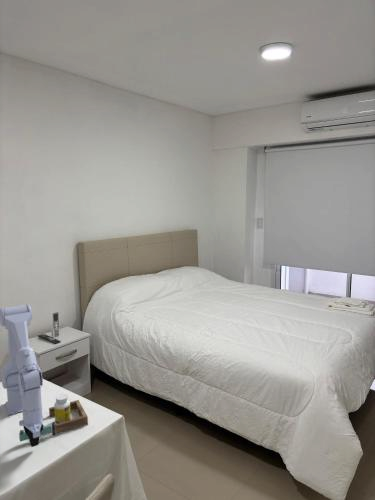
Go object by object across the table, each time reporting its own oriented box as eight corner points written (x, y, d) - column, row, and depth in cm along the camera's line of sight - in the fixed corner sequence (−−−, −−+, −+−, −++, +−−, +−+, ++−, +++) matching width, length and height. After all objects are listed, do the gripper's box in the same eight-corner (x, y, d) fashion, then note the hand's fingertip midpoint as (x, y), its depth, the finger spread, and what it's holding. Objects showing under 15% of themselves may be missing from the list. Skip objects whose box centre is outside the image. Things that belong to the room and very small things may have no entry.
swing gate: (51, 430, 130) (50, 422, 130) (51, 432, 129) (51, 423, 129) (19, 439, 125) (18, 430, 125) (19, 441, 124) (19, 432, 124)
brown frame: (45, 416, 140) (45, 406, 140) (78, 407, 147) (78, 397, 146) (52, 435, 130) (52, 424, 129) (88, 424, 136) (87, 414, 135)
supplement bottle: (67, 426, 135) (65, 401, 133) (52, 425, 135) (50, 400, 134) (73, 417, 140) (71, 393, 138) (59, 416, 141) (57, 392, 139)
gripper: (15, 398, 124) (18, 436, 127) (21, 422, 112) (24, 463, 114) (38, 393, 128) (40, 429, 130) (46, 415, 116) (48, 455, 118)
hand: (34, 444), depth 122 cm, fingers closed
